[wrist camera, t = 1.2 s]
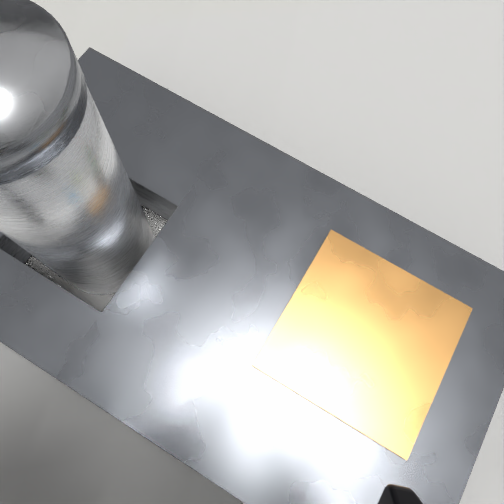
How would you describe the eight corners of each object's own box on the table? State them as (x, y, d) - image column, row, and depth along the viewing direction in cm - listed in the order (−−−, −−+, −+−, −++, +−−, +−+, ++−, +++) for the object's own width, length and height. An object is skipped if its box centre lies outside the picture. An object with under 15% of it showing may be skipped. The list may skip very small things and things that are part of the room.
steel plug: (116, 314, 22) (-27, 203, 10) (34, 262, 23) (-198, 97, 10) (175, 231, 24) (114, 45, 11) (95, 185, 24) (-43, -39, 12)
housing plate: (387, 584, 19) (418, 620, 16) (-68, 284, 22) (-118, 265, 19) (502, 305, 23) (545, 289, 20) (104, 85, 26) (87, 42, 23)
